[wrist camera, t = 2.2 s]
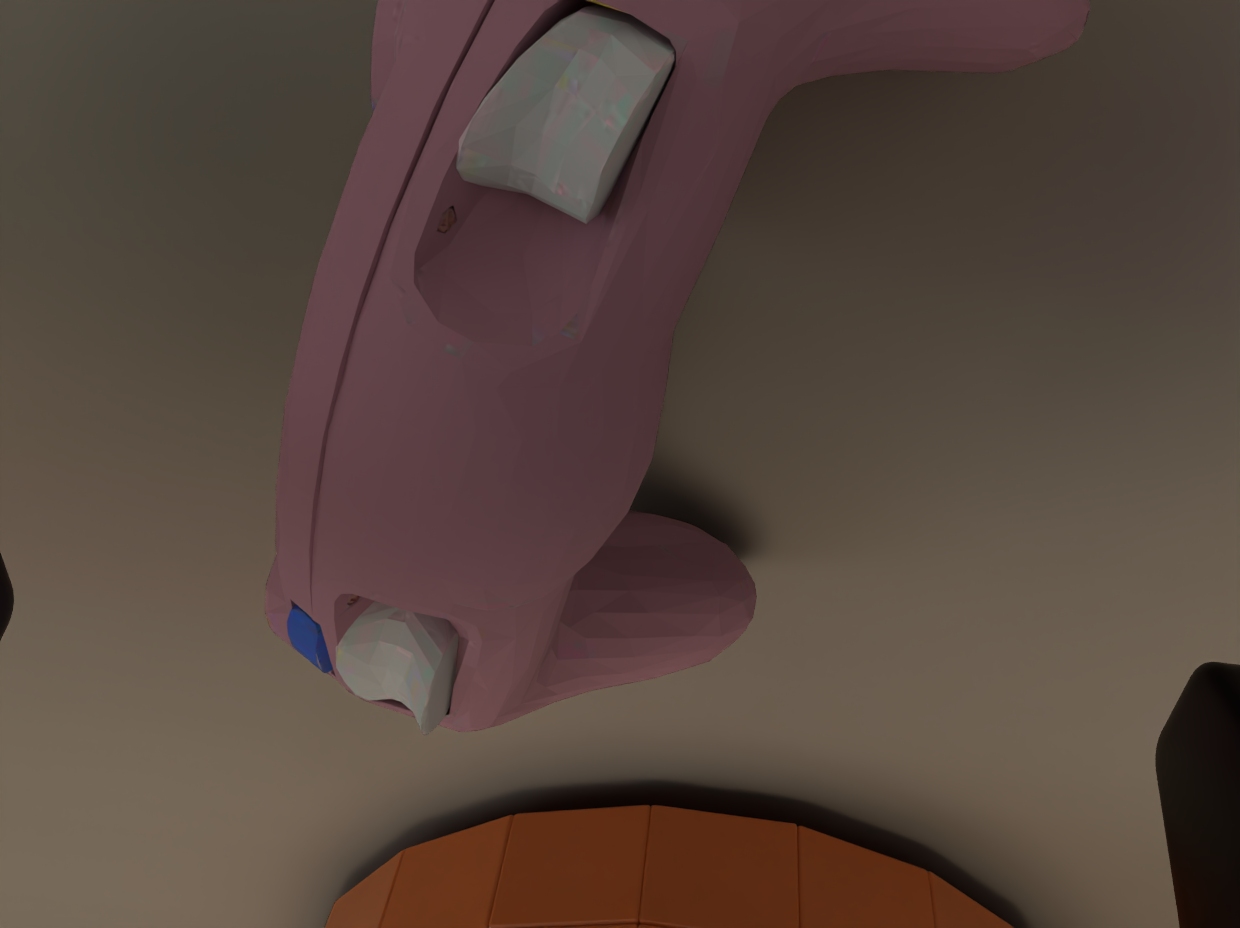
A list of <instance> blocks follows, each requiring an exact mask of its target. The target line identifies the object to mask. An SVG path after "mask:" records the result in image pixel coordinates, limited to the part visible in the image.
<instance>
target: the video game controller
mask: <svg viewBox="0 0 1240 928" xmlns="http://www.w3.org/2000/svg"><path fill="white" fill-rule="evenodd" d="M1090 9H1091V8H1090V4H1089V0H378V2H377V6H376V14H375V23H374V31H373V40H372V59H371V103H372V107H373V111H374V112H373V114H372V117H371V119H370V121H369V124H368V126H367V128H366V130H365V133H364V135H363V137H362V140H361V142H360V144H359V147H358V150H357V153H356V156H355V159H354V162H353V165H352V167H351V170H350V173H349V176H348V179H347V182H346V185H345V188H344V191H343V194H342V197H341V199H340V202H339V205H338V208H337V211H336V214H335V217H334V220H333V223H332V226H331V229H330V231H329V234H328V237H327V240H326V243H325V246H324V249H323V252H322V255H321V258H320V261H319V264H318V267H317V270H316V273H315V276H314V280H313V284H312V289H311V293H310V297H309V301H308V306H307V310H306V314H305V318H304V322H303V327H302V331H301V335H300V339H299V344H298V348H297V353H296V357H295V362H294V366H293V371H292V375H291V380H290V385H289V389H288V394H287V398H286V403H285V409H284V419H283V428H282V437H281V447H280V456H279V465H278V474H277V484H276V552H277V554H276V557H275V560H274V563H273V566H272V568H271V571H270V574H269V577H268V580H267V583H266V599H265V614H266V617H267V620H268V623H269V626H270V628H271V629H272V631H273V632H274V633H275V634H276V635H277V636H279V637H280V638H281V639H282V640H284V641H285V642H286V643H288V644H289V645H290V646H291V647H293V648H294V649H295V650H297V651H298V652H299V653H300V654H302V655H303V656H304V657H306V658H307V659H308V660H309V661H310V662H312V663H313V664H314V665H315V666H316V667H318V668H319V669H320V670H321V671H322V672H324V673H327V674H329V675H330V676H332V677H334V678H335V679H337V680H338V681H339V682H340V683H341V684H342V685H343V686H344V687H345V688H346V689H347V690H348V691H349V692H350V693H352V694H354V695H355V696H357V697H359V698H361V699H363V700H365V701H367V702H370V703H373V704H376V705H379V706H382V707H384V708H387V709H390V710H393V711H396V712H399V713H403V714H406V715H409V716H412V717H415V718H416V720H417V722H418V724H419V727H420V729H421V731H422V733H423V735H427V734H429V733H430V732H431V731H432V730H433V729H434V728H435V727H436V726H437V725H440V726H443V727H446V728H449V729H452V730H455V731H458V732H465V731H478V730H482V729H486V728H490V727H494V726H498V725H501V724H504V723H506V722H508V721H511V720H513V719H516V718H518V717H520V716H523V715H525V714H527V713H530V712H532V711H535V710H537V709H539V708H542V707H544V706H546V705H549V704H551V703H553V702H556V701H560V700H563V699H566V698H569V697H572V696H576V695H579V694H582V693H585V692H588V691H592V690H597V689H602V688H607V687H612V686H617V685H623V684H628V683H633V682H638V681H643V680H648V679H653V678H657V677H660V676H663V675H667V674H670V673H673V672H676V671H680V670H683V669H686V668H689V667H693V666H696V665H699V664H702V663H705V662H708V661H710V660H712V659H713V658H714V657H715V656H717V655H718V654H719V653H721V652H722V651H723V650H724V649H726V648H727V647H728V646H730V645H731V644H732V643H734V642H735V641H736V640H737V639H738V638H739V636H740V635H741V634H742V633H743V632H744V631H745V630H746V628H747V626H748V625H749V623H750V622H751V620H752V618H753V615H754V609H755V603H756V597H757V596H756V589H755V583H754V581H753V580H752V578H751V576H750V574H749V572H748V571H747V569H746V567H745V566H744V564H743V563H742V562H741V561H740V560H739V559H738V557H737V556H736V555H735V554H734V553H733V552H732V550H731V549H730V548H729V547H728V546H727V545H726V543H722V542H720V541H719V540H717V539H715V538H714V537H712V536H711V535H709V534H708V533H706V532H704V531H703V530H701V529H700V528H698V527H695V526H693V525H691V524H688V523H686V522H683V521H679V520H675V519H671V518H667V517H663V516H660V515H655V514H649V513H643V512H637V511H631V510H629V509H630V507H631V504H632V502H633V500H634V498H635V496H636V494H637V491H638V489H639V487H640V485H641V483H642V481H643V478H644V476H645V474H646V472H647V470H648V468H649V465H650V463H651V461H652V459H653V453H654V448H655V443H656V438H657V432H658V427H659V422H660V417H661V412H662V406H663V401H664V396H665V391H666V385H667V378H668V370H669V362H670V355H671V347H672V340H673V332H674V328H675V326H676V324H677V322H678V320H679V317H680V315H681V313H682V311H683V309H684V307H685V304H686V302H687V300H688V298H689V296H690V294H691V291H692V289H693V287H694V285H695V283H696V281H697V278H698V276H699V274H700V272H701V270H702V268H703V265H704V263H705V261H706V259H707V257H708V255H709V252H710V250H711V248H712V246H713V244H714V242H715V239H716V237H717V235H718V233H719V231H720V229H721V226H722V224H723V222H724V219H725V217H726V215H727V212H728V210H729V207H730V205H731V203H732V200H733V198H734V195H735V193H736V191H737V188H738V186H739V183H740V181H741V179H742V176H743V174H744V171H745V169H746V167H747V164H748V162H749V159H750V157H751V155H752V152H753V150H754V147H755V145H756V143H757V140H758V138H759V135H760V133H761V131H762V128H763V126H764V123H765V121H766V119H767V118H768V116H769V115H770V113H771V111H772V110H773V108H774V107H775V105H776V103H777V102H778V100H779V99H781V98H782V97H783V96H784V95H785V94H786V93H788V92H789V91H790V90H791V89H792V88H793V87H795V86H797V85H801V84H804V83H808V82H811V81H815V80H818V79H822V78H825V77H829V76H837V75H846V74H854V73H863V72H871V71H880V70H911V71H942V72H972V73H1001V72H1008V71H1011V70H1014V69H1016V68H1019V67H1022V66H1025V65H1027V64H1030V63H1033V62H1036V61H1038V60H1041V59H1044V58H1046V57H1049V56H1051V55H1054V54H1056V53H1059V52H1061V51H1064V50H1065V49H1066V48H1068V47H1069V46H1071V45H1072V44H1074V43H1075V42H1077V41H1078V39H1079V37H1080V35H1081V33H1082V31H1083V29H1084V26H1085V24H1086V22H1087V18H1088V15H1089V12H1090Z"/></svg>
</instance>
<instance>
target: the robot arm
mask: <svg viewBox="0 0 1240 928" xmlns="http://www.w3.org/2000/svg"><path fill="white" fill-rule="evenodd" d="M13 604H14V595H13V588H12V584H11V581H10V579H9V576H8V573H7V570H6V567H5V564H4V561H3V559H2V556H1V553H0V640H1V638H2V636H3V634H4V632H5V630H6V628H7V626H8V623H9V621H10V618H11V615H12V611H13ZM1156 773H1157V780H1158V787H1159V793H1160V800H1161V806H1162V813H1163V820H1164V826H1165V833H1166V839H1167V846H1168V853H1169V859H1170V866H1171V872H1172V879H1173V886H1174V892H1175V899H1176V905H1177V912H1178V919H1179V925H1180V928H1240V665H1236V664H1228V663H1220V662H1209V663H1204V664H1202V665H1201V666H1199V667H1198V668H1197V669H1196V670H1195V671H1194V672H1193V674H1192V675H1191V677H1190V679H1189V681H1188V683H1187V685H1186V686H1185V688H1184V690H1183V692H1182V694H1181V696H1180V698H1179V700H1178V701H1177V703H1176V705H1175V707H1174V709H1173V711H1172V713H1171V715H1170V717H1169V718H1168V720H1167V722H1166V724H1165V726H1164V728H1163V730H1162V732H1161V734H1160V737H1159V739H1158V743H1157V748H1156Z"/></svg>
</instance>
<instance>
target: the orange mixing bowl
mask: <svg viewBox="0 0 1240 928" xmlns="http://www.w3.org/2000/svg"><path fill="white" fill-rule="evenodd" d="M324 928H1015V927H1013V926H1012V925H1010V924H1009V923H1007V922H1006V921H1004V920H1003V919H1001V918H1000V917H998V916H997V915H995V914H994V913H992V912H991V911H989V910H988V909H986V908H985V907H983V906H982V905H980V904H979V903H977V902H976V901H974V900H973V899H971V898H970V897H969V896H967V895H966V894H964V893H963V892H961V891H960V890H958V889H957V888H955V887H954V886H952V885H951V884H949V883H948V882H946V881H945V880H943V879H942V878H940V877H939V876H937V875H936V874H934V873H933V872H930V871H929V872H927V870H925V869H923V868H921V867H918V866H915V865H912V864H909V863H906V862H903V861H901V860H898V859H895V858H892V857H889V856H886V855H884V854H881V853H878V852H875V851H872V850H869V849H867V848H864V847H861V846H858V845H855V844H852V843H850V842H847V841H844V840H841V839H838V838H835V837H832V836H830V835H827V834H824V833H821V832H818V831H815V830H813V829H810V828H807V827H804V826H798V827H797V825H796V824H794V823H788V822H780V821H773V820H765V819H758V818H750V817H743V816H735V815H728V814H721V813H713V812H706V811H698V810H691V809H683V808H676V807H668V806H661V805H652V806H650V805H634V806H619V807H605V808H590V809H576V810H561V811H547V812H532V813H518V814H515V815H514V816H513V815H508V816H505V817H501V818H498V819H495V820H492V821H489V822H486V823H483V824H480V825H477V826H473V827H470V828H467V829H464V830H461V831H458V832H455V833H452V834H448V835H445V836H442V837H439V838H436V839H433V840H430V841H427V842H423V843H420V844H417V845H414V846H411V847H408V848H406V850H404V849H403V850H401V851H400V852H399V853H398V854H396V855H395V856H394V857H392V858H391V859H390V860H388V861H387V862H386V863H384V864H383V865H382V866H381V867H379V868H378V869H377V870H375V871H374V872H373V873H371V874H370V875H369V876H367V877H366V878H365V879H364V880H362V881H361V882H360V883H358V884H357V885H356V886H354V887H353V888H352V889H350V890H349V891H348V892H347V893H345V894H344V895H343V896H341V897H340V898H339V899H337V901H336V902H335V903H334V905H333V907H332V909H331V912H330V914H329V916H328V919H327V921H326V923H325V926H324Z"/></svg>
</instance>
